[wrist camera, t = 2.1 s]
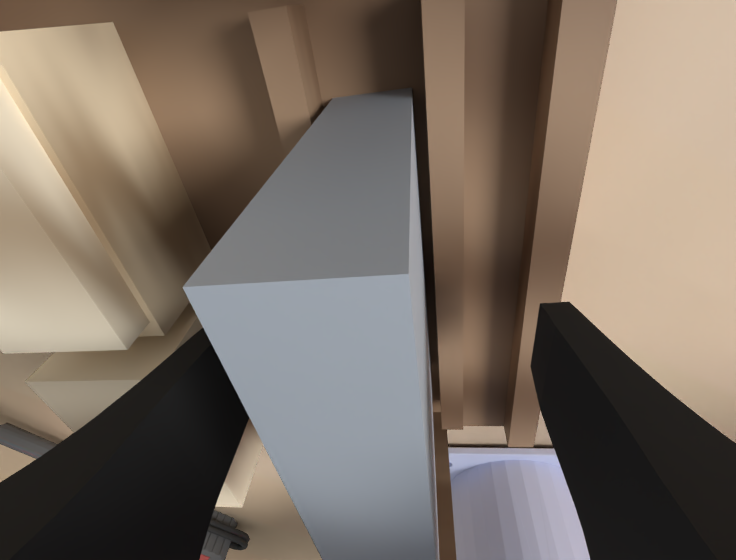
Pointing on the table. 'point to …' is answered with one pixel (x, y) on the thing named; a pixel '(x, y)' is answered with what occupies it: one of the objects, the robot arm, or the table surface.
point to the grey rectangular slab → (336, 330)
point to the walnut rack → (433, 147)
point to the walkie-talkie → (220, 525)
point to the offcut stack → (93, 228)
